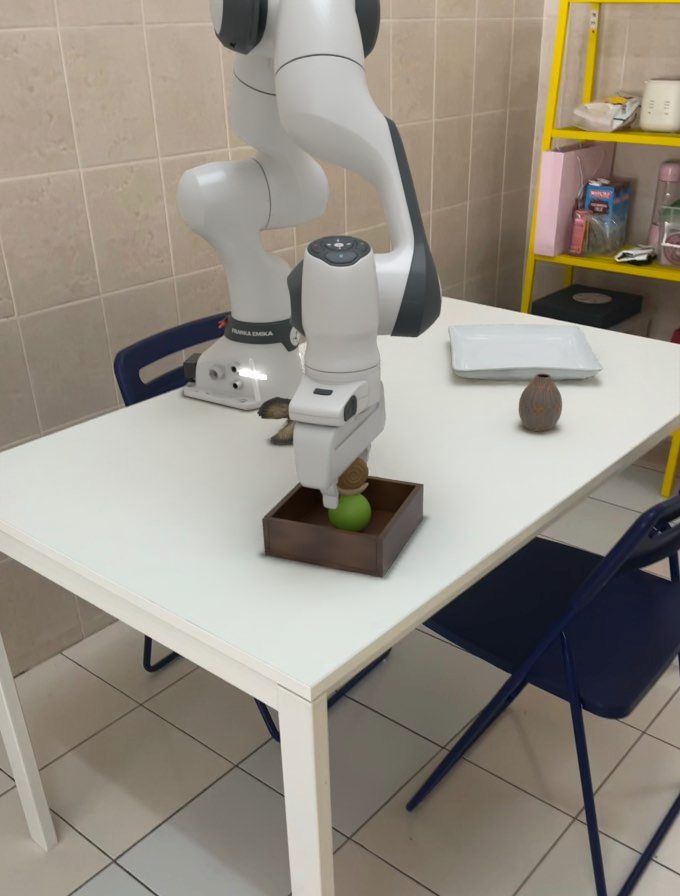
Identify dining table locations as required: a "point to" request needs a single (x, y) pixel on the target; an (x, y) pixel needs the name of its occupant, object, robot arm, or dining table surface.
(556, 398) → the vase
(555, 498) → the dining table surface
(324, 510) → the crate
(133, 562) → the dining table surface
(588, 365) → the square plate
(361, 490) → the snail figurine
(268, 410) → the eagle figurine
